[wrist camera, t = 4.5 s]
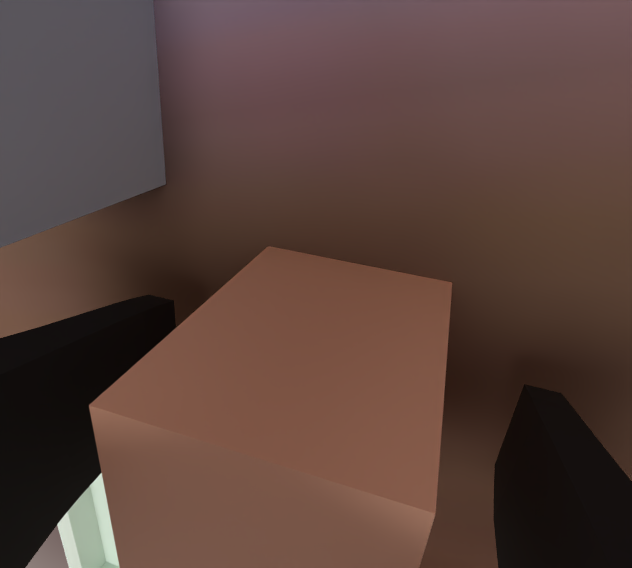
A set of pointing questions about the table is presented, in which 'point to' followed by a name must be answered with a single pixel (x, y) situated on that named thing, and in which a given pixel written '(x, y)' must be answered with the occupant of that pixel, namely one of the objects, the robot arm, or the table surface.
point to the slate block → (76, 110)
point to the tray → (89, 530)
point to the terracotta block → (283, 423)
